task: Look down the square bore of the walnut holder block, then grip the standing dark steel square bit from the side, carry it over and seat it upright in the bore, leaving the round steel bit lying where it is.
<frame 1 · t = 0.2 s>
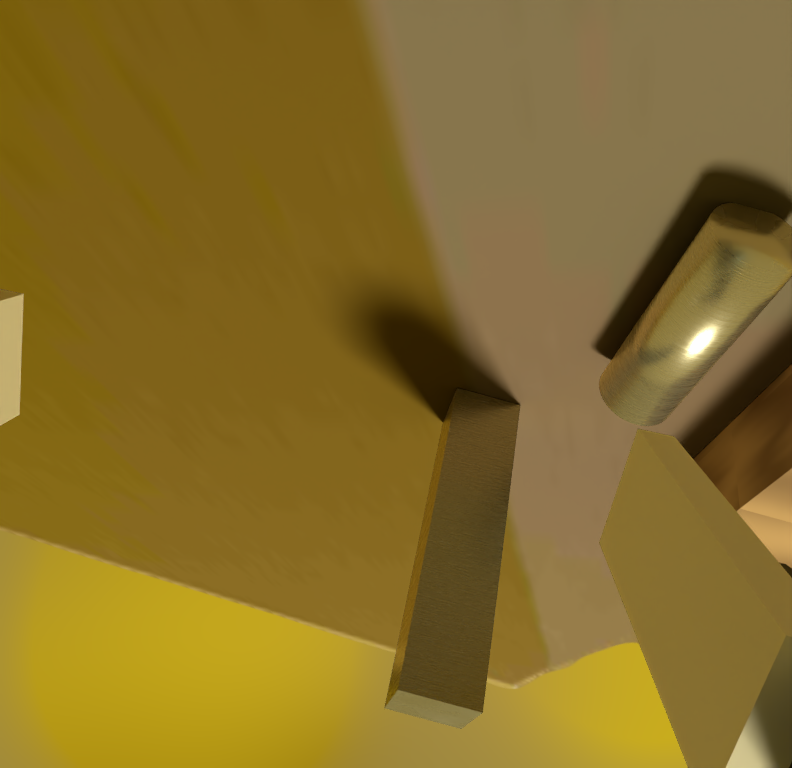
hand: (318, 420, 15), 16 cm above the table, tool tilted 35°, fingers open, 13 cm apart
round bit: (686, 296, 30), on the table
square bit: (480, 414, 39), on the table
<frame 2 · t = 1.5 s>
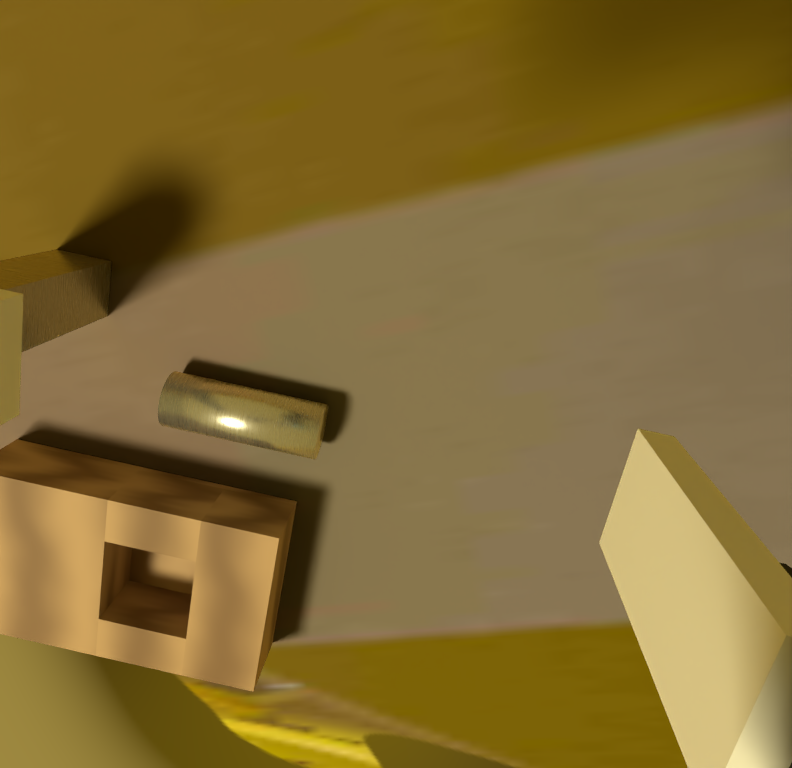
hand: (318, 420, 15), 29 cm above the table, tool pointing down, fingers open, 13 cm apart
round bit: (252, 408, 46), on the table
square bit: (82, 283, 44), on the table
holder block: (149, 544, 50), on the table
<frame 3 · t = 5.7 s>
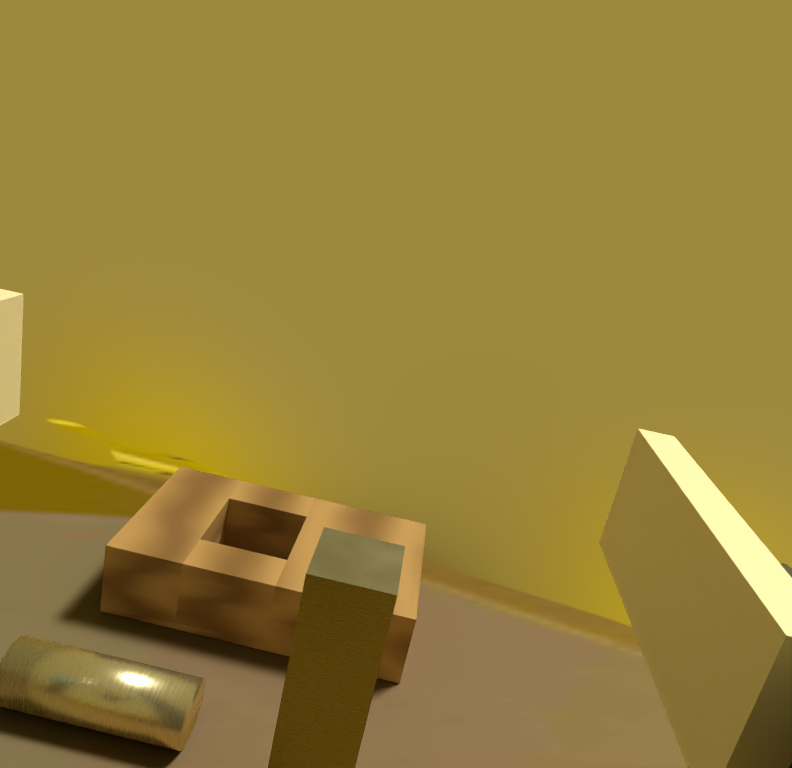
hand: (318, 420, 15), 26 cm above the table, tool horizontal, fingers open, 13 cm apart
round bit: (114, 686, 39), point 1 cm above the table, tilted 57°
holder block: (273, 592, 50), on the table
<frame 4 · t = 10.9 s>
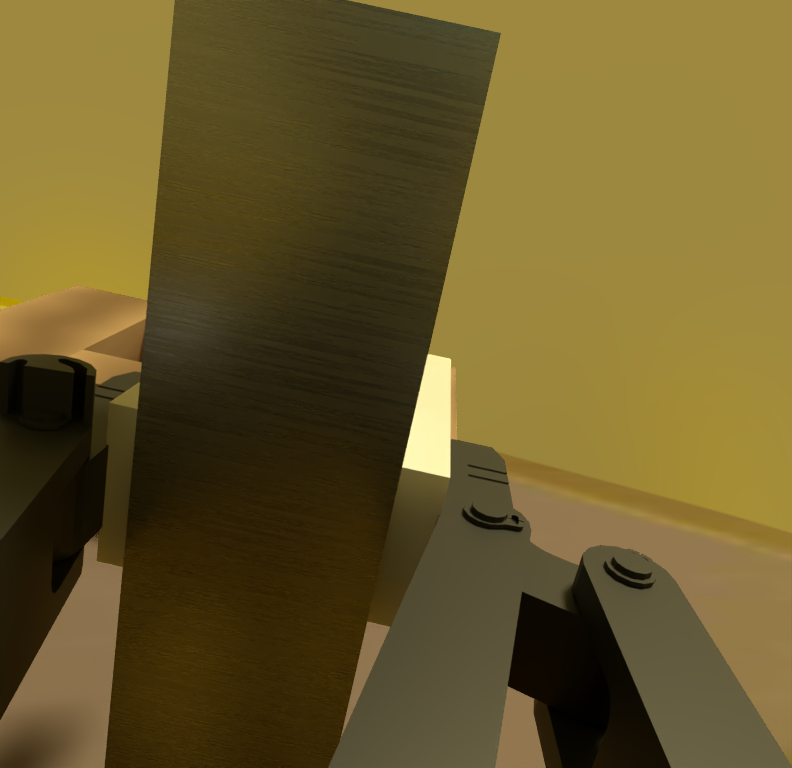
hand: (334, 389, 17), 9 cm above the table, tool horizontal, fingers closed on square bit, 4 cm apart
holder block: (216, 460, 31), on the table
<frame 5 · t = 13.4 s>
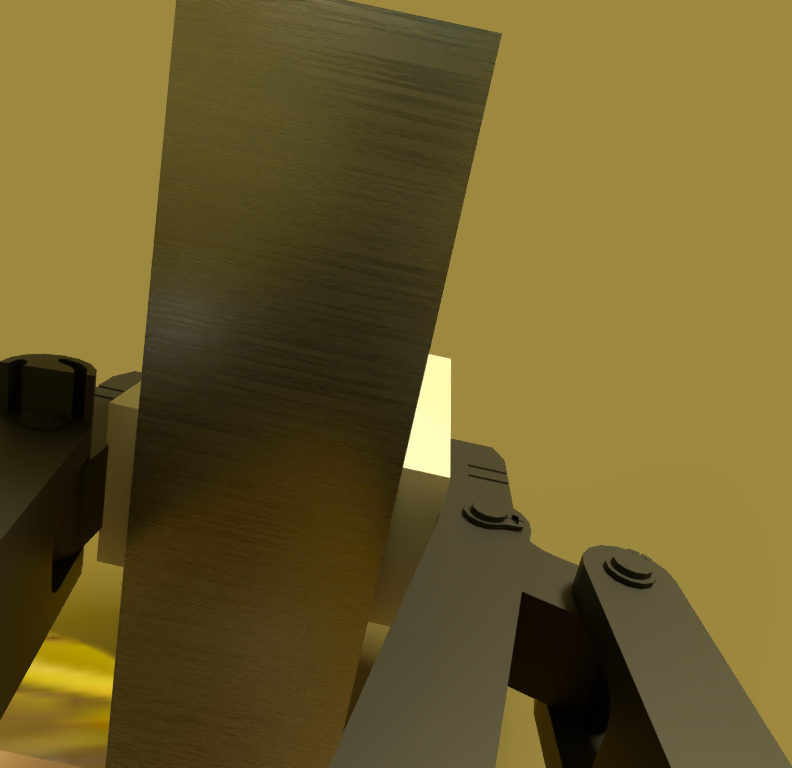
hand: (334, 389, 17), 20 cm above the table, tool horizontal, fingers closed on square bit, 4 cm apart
when the fingers open (11 cm above the table, at t = 15.8 s): square bit drops 1 cm, resting on holder block.
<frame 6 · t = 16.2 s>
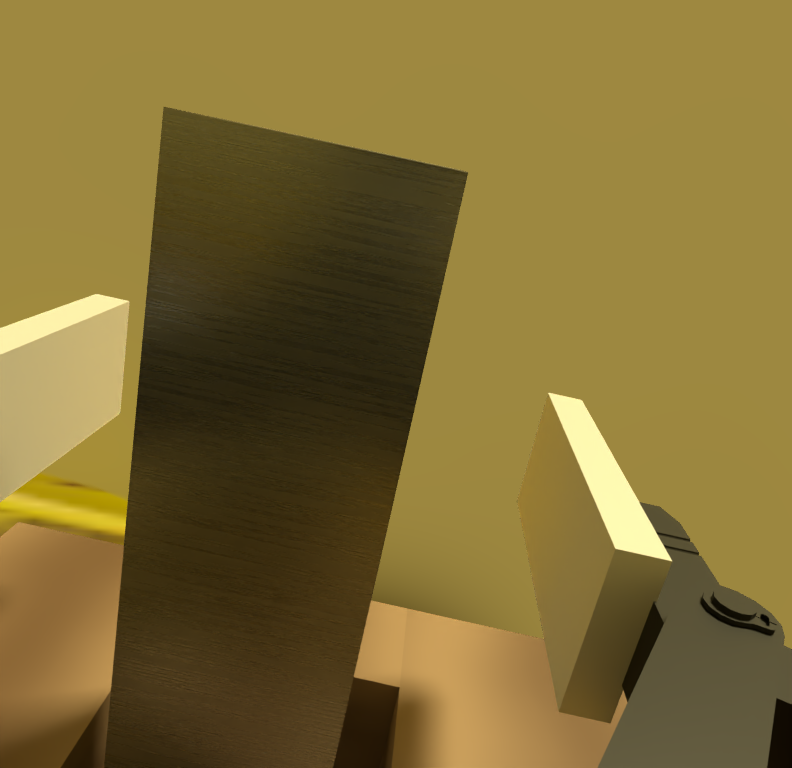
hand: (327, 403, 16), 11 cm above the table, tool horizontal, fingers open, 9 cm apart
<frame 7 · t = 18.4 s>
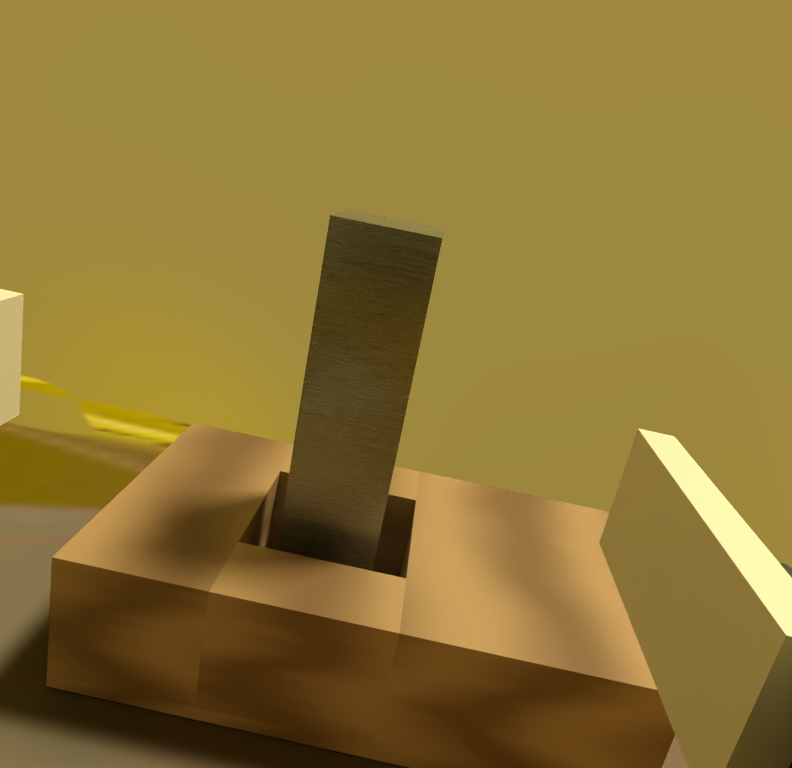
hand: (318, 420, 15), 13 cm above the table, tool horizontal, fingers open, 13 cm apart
square bit: (318, 614, 28), resting on holder block
holder block: (363, 635, 28), on the table
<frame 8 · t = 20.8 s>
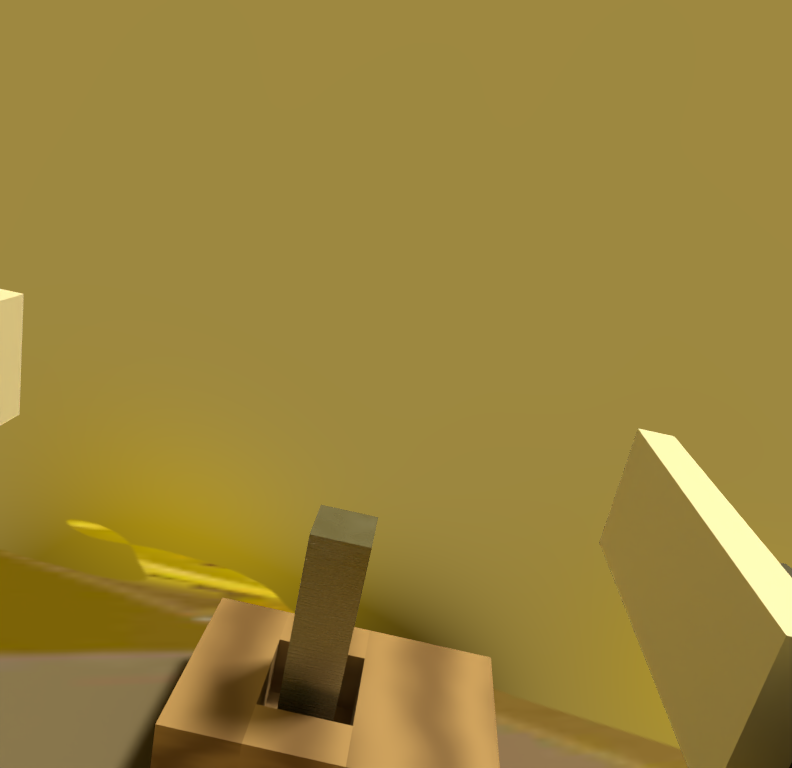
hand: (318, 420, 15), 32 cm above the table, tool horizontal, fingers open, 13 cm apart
square bit: (302, 733, 46), resting on holder block
holder block: (330, 746, 46), on the table
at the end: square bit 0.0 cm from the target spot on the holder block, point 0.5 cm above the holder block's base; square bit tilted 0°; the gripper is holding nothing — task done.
